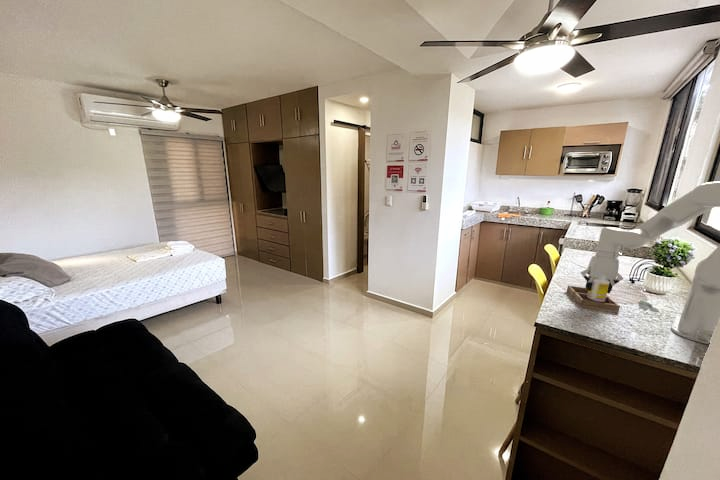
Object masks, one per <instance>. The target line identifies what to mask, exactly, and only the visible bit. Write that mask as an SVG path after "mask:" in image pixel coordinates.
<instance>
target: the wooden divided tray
mask: <svg viewBox="0 0 720 480" xmlns="http://www.w3.org/2000/svg"><path fill="white" fill-rule="evenodd" d="M566 292H567V294H568V295H569V296H570V298H572V300H573V301H575V303H576V304H577V305H578V306H579V307H580V308H581V309H582V308H583V309H589V310H597V311H603V312H609V313H614V314H615V313H616V314H618V313H620V307H621V305H620V304H618V303H617V302H616V301H615V300H614V299H612V298H611V297H610V296H609V295H608V294H607V295H606V299H605V301H603V302H599V301H595V300H592V299H589V298H588V297H587V294H588V290H587V289H586V287H582V286H576V285H567V288H566Z"/></svg>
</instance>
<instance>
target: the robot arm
mask: <svg viewBox="0 0 720 480" xmlns="http://www.w3.org/2000/svg"><path fill="white" fill-rule="evenodd" d="M718 207H719V208H720V181H709V182H705V183H704V182H703V183H701V184H700V185H697V186H696V187H695V188H693V189H691V190H690V191H689V192H687V193H686V194H684V195H683V196H681V197H679V198H677V199H675V200H674V201H673V202H671V203H669V204H668V205H666V206H664V207H663V208H662V209H660V210H659V211H658V212H657V213H656V214H654V215H653V216H652V217H651V218H649V219H648V220H646V221H644V222H643V223H641V224H639V225H638V226H636V227H635V228H633V229H631V230H624V229H622V228H620V227H614V226H613V227H612V226H605V227H603V228H601V231H600V235H599V237H598V243H597V245H596V246H597V247H596V251H595V255H594V254H593V255H592V257H591V258H590V261H589V262H588V265H587V268H586V269H584V270H582V271H581V272H580V275H582V277H583V279H584V280H585V281H586V283H585V288H586V289H587V290H588V291H591V287H592V283H591V282H592V281H593V279H594V278H601V277H602V276H606V277H605V278H604V279H608V280H609V282H610V283H609V287H608V291H607V294H611V292H612V290H613V286H615V285H616V284H618V283H619V282H620V281H623V280H624V277H623V276H622V275H621V274H620V273H619V270H620V268H619V267H620V260H619V257H622V256H623V254H622V253H620V249H621V247H623V248H628V249H640V248H642V247H643V246H645V245H646V244H648V243H649V242H651V241H653V240H655V239H656V238H658V237H660V236H662V235H664V234H665V233H668V232H669V231H671V230H674V229H677V228H679V227H681V226H684V225H685V224H687V223H689V222H690V221H692V220H694V219H696V218H697V217H699V216H701V215H703V214H705V213H707V212H708V211H710V210H712V209H714V208H718ZM587 275H588V276H587ZM719 315H720V244H719V245H718V246H717V247H716V248H715V249H714V250H713V251H712V253H710V254H709V256H708V257H707V258H704V259H702V260H701V261H700V262H698V263H697V265H696V268H695V269H694V274H693V278H692V282H691V284H690V288H689V290H688V294H687V297H686V299H685V303H684V305H683V309H682V312H681V316H680V318H679V322H678V324H673V325H671V327H670V329H671V331H672V332H673V333H675V334H676V335H678V336H680V337H683V338H685V339H687V340H689V341H693V342H697V343H700V344H705V345H710V344H709V343H710V340H711V337H712V334H713V331H714V329H715V326H716V324H717V321H718V317H719Z"/></svg>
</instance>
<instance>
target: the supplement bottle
mask: <svg viewBox="0 0 720 480" xmlns="http://www.w3.org/2000/svg"><path fill="white" fill-rule="evenodd" d="M605 277H606V276H602V277H601V278H594V279H593V281H592V282H591V283H592V287H591V291H588V294H587V297H588V298H589V299H592V300H595V301H599V302H603V301H605V299H606V295H607V296H608V293H607V291H608V287H609V283H610V282H609V280H608V279H604V278H605Z"/></svg>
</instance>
